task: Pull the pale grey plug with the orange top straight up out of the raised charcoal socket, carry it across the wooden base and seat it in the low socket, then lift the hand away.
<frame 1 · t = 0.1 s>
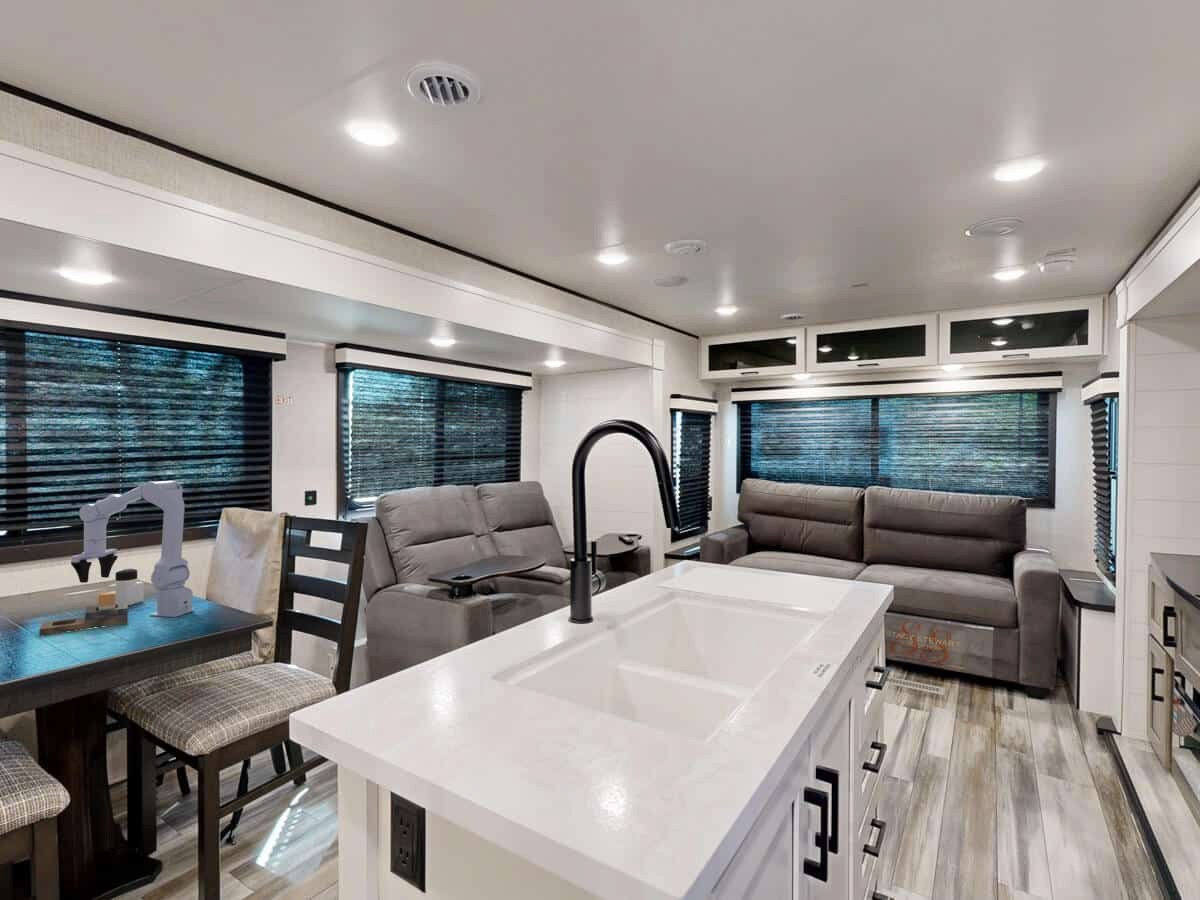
hand: (94, 579, 201), 10 cm above the table, tool pointing down, fingers open, 7 cm apart
medicine bottle: (126, 604, 209), on the table
plug: (107, 613, 186), point 3 cm above the table, touching wooden base
wooden base: (85, 626, 183), on the table
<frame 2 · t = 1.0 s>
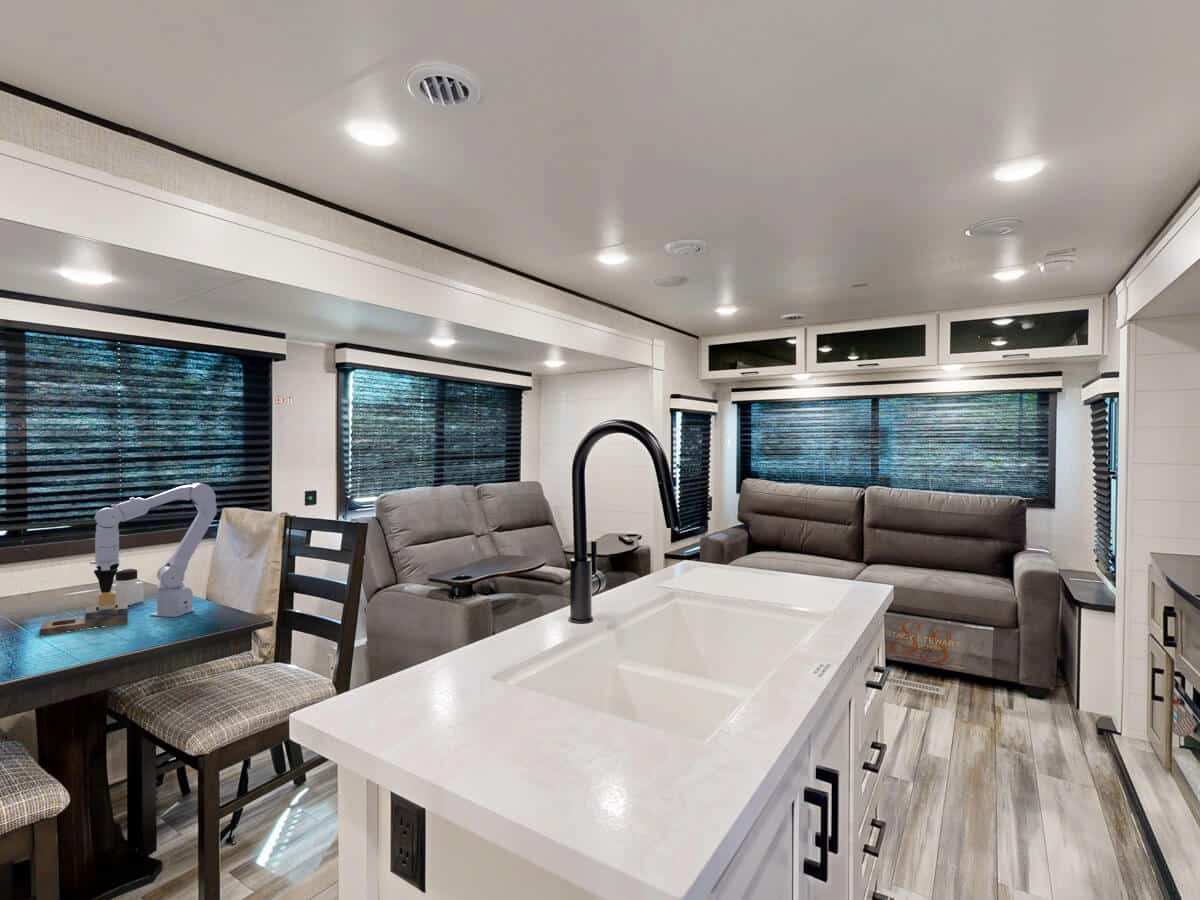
hand: (106, 589, 187), 10 cm above the table, tool pointing down, fingers open, 7 cm apart
nothing on the table moved.
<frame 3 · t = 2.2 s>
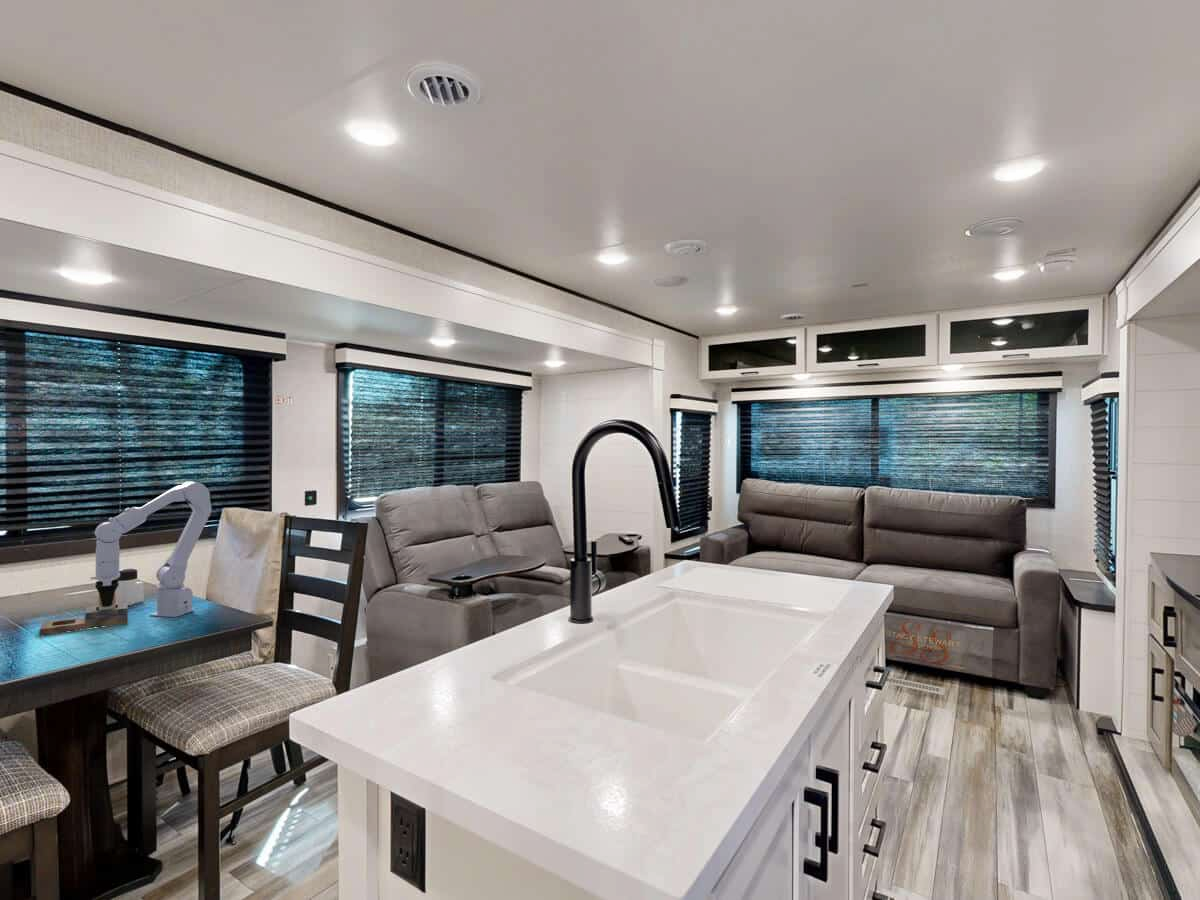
hand: (107, 604, 186), 6 cm above the table, tool pointing down, fingers closed on plug, 4 cm apart
plug: (107, 613, 186), point 3 cm above the table, touching gripper, wooden base
everything else where it was.
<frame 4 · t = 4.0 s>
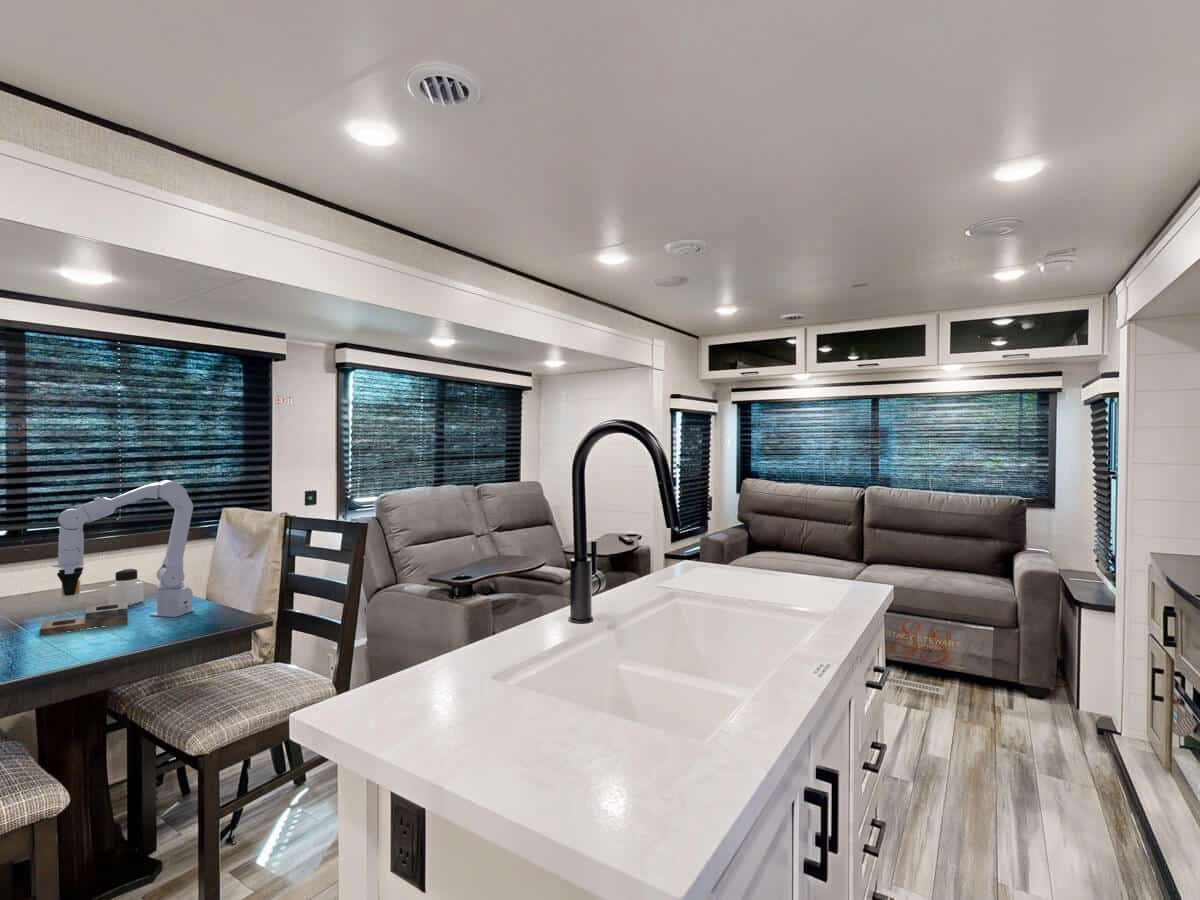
hand: (70, 593, 181), 11 cm above the table, tool pointing down, fingers closed on plug, 4 cm apart
plug: (70, 603, 181), point 8 cm above the table, touching gripper
everything else where it was.
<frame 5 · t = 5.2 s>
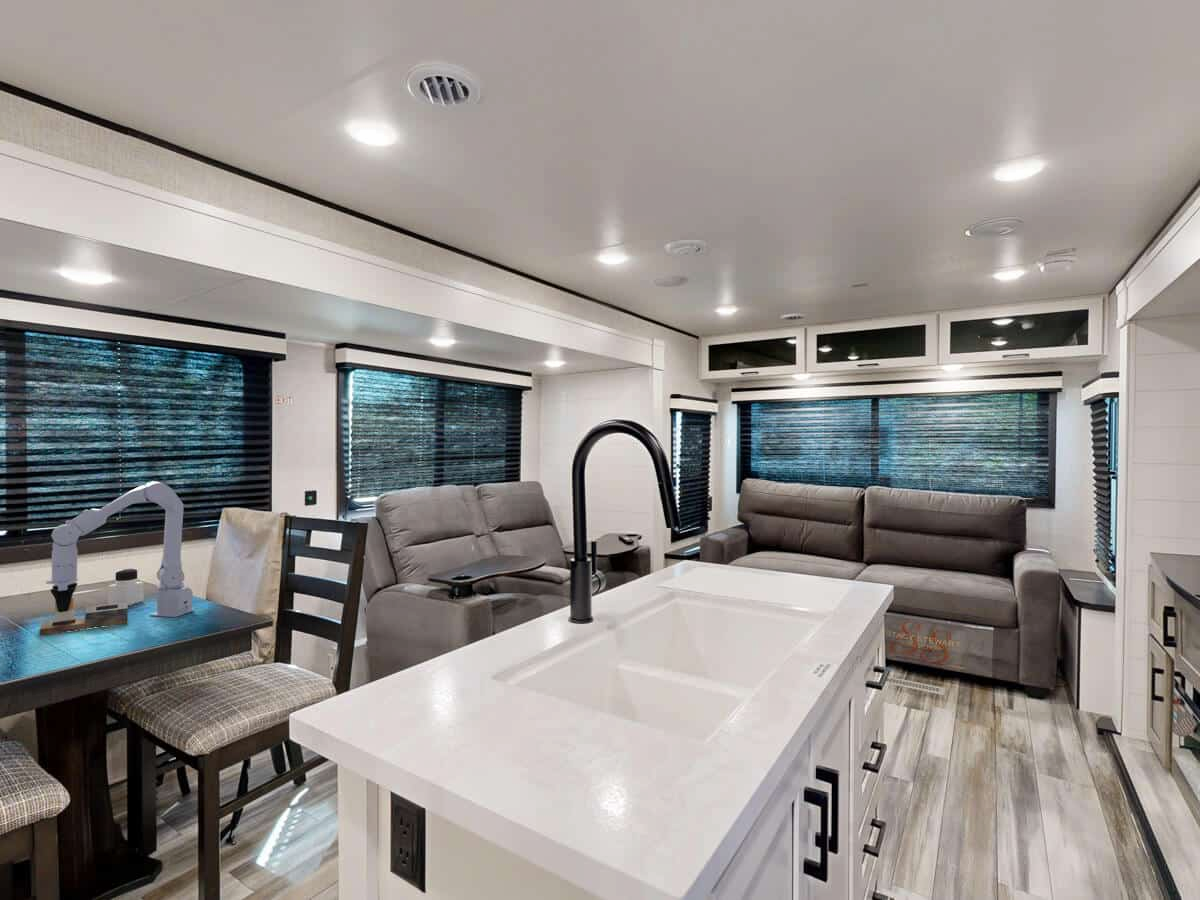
hand: (63, 609, 180), 6 cm above the table, tool pointing down, fingers closed on plug, 4 cm apart
plug: (64, 619, 180), point 3 cm above the table, touching gripper
everything else where it was.
when the fingers open (4 cm above the table, at t = 6.2 s): plug stays where it is, resting in wooden base.
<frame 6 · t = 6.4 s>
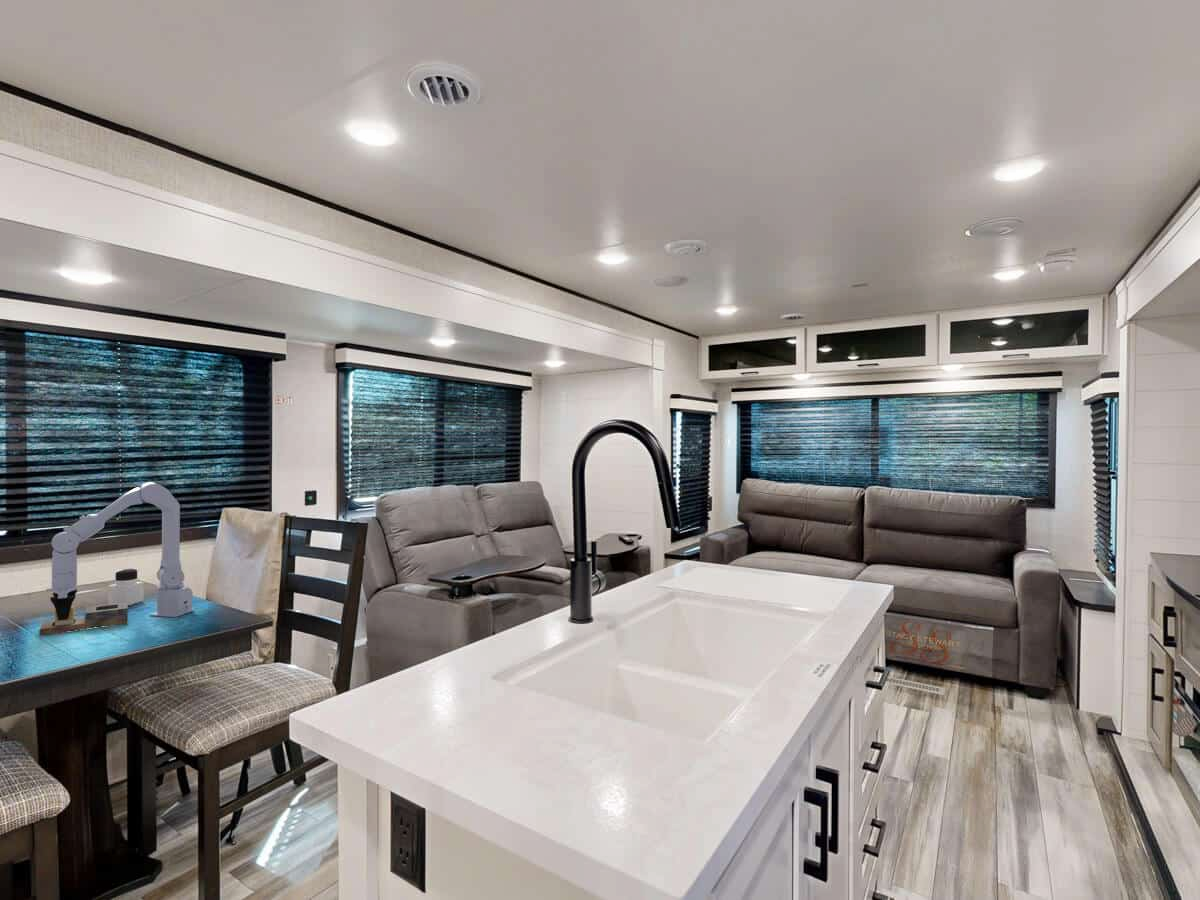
hand: (63, 617, 180), 4 cm above the table, tool pointing down, fingers open, 6 cm apart
plug: (64, 629, 180), resting in wooden base
everything else where it was.
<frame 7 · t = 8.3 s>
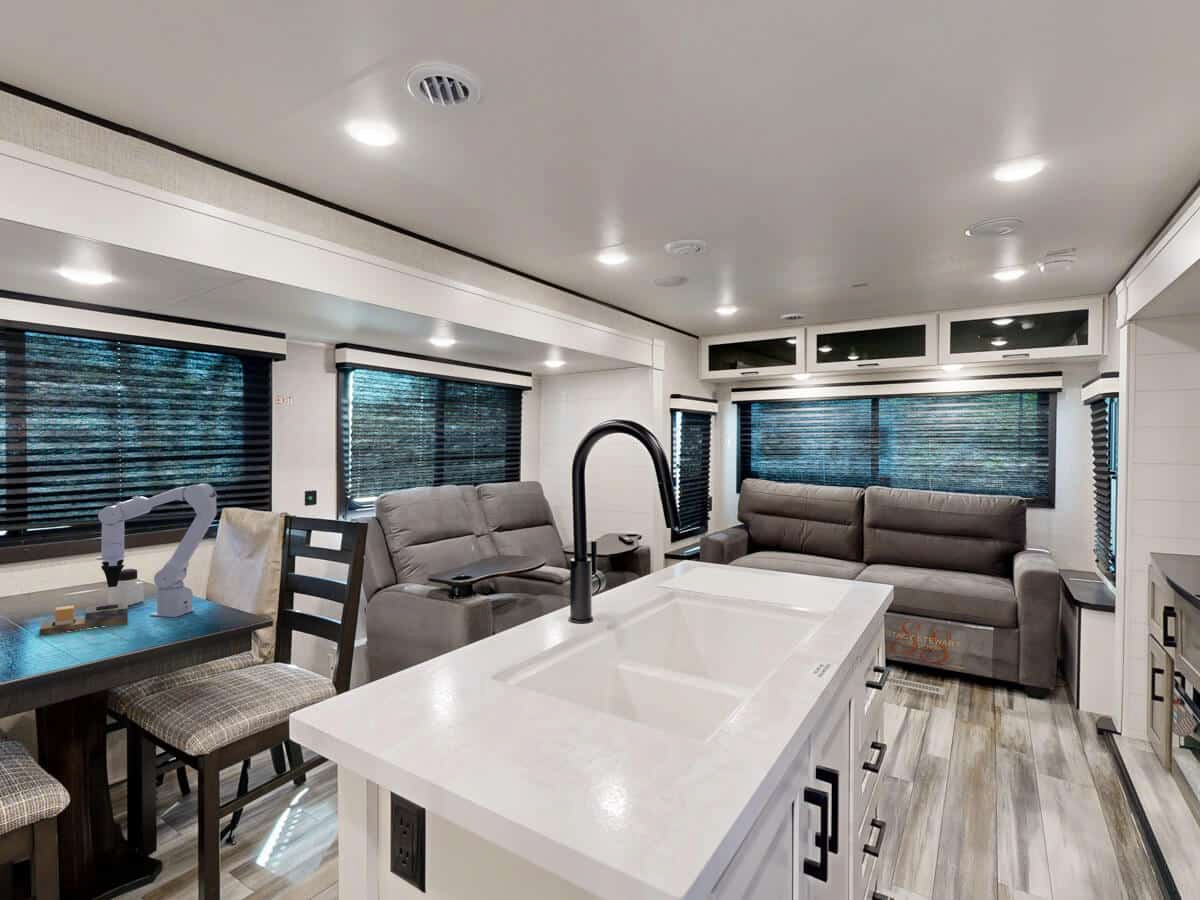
hand: (112, 584, 193), 10 cm above the table, tool pointing down, fingers open, 7 cm apart
nothing on the table moved.
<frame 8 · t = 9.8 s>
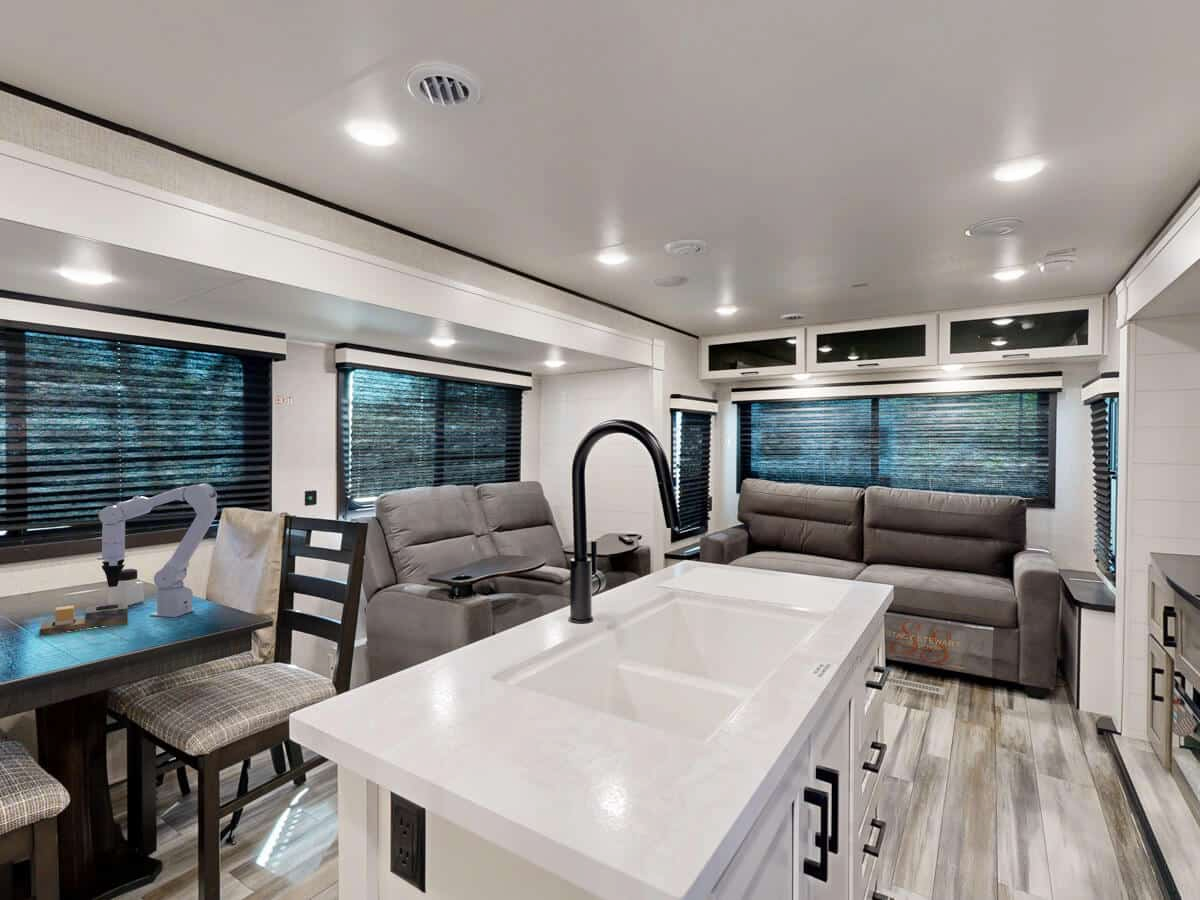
hand: (113, 584, 194), 10 cm above the table, tool pointing down, fingers open, 7 cm apart
nothing on the table moved.
at the end: plug 0.2 cm from the target spot, resting in wooden base; plug tilted 0°; the gripper is holding nothing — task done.
